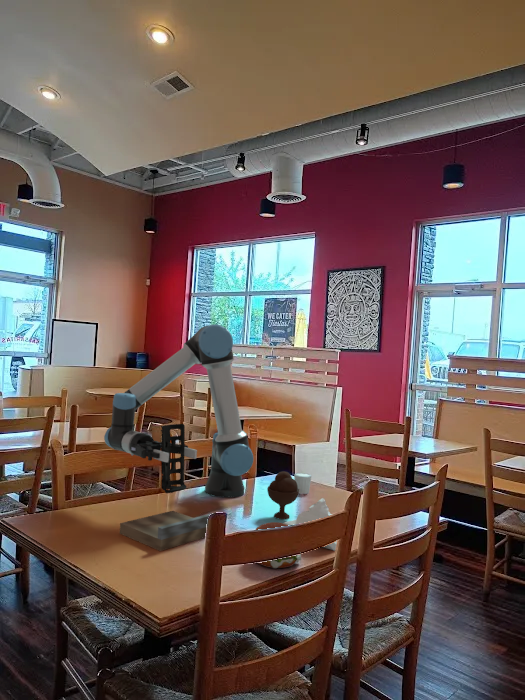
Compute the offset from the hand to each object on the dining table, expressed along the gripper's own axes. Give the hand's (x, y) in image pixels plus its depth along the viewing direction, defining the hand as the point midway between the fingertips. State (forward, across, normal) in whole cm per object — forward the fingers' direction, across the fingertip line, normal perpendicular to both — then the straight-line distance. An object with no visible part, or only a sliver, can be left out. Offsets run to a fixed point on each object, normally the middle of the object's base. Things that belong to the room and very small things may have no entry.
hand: (182, 456), depth 169 cm
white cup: (-3, -67, -21) cm, 71 cm away
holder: (-4, 0, -11) cm, 12 cm away
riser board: (+3, +6, -22) cm, 23 cm away
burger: (+37, -3, -22) cm, 43 cm away
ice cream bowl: (+13, -35, -22) cm, 43 cm away
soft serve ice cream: (+35, -23, -22) cm, 47 cm away
